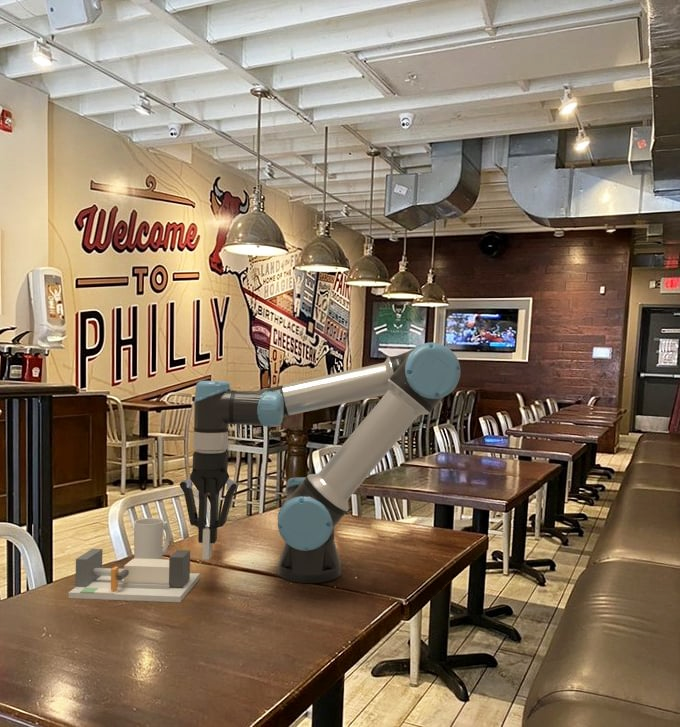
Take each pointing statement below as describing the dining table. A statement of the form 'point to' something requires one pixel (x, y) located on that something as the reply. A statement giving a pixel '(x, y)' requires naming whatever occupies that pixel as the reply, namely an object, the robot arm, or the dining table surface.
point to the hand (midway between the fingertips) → (207, 557)
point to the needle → (114, 578)
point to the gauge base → (120, 583)
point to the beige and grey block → (158, 570)
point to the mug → (150, 538)
